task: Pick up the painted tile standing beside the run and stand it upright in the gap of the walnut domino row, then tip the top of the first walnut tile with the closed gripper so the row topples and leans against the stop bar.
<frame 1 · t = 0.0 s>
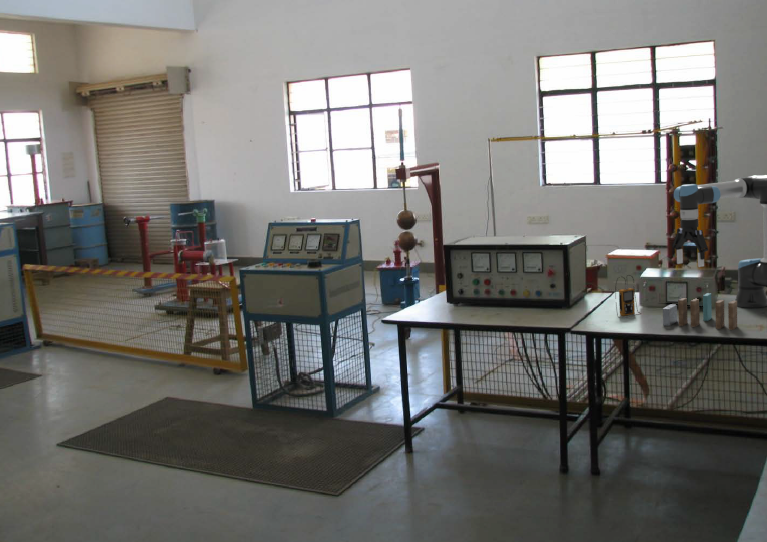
hand: (690, 265, 360), 28 cm above the table, fingers open, 13 cm apart
tile 3: (707, 319, 372), on the table
stop bar: (670, 323, 370), on the table
tile 4: (695, 325, 363), on the table
tile 5: (683, 324, 366), on the table
multimeter: (632, 316, 391), on the table
tile 1: (733, 328, 352), on the table
tile 2: (720, 327, 356), on the table
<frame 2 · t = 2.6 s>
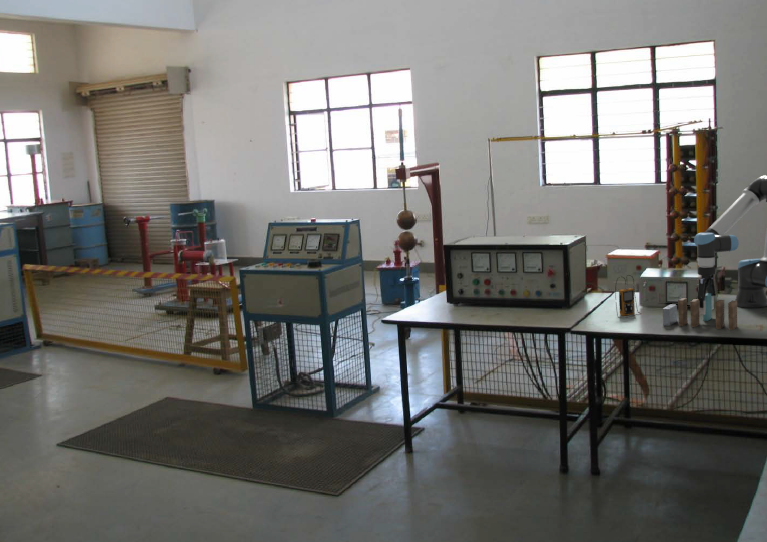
hand: (706, 311, 371), 4 cm above the table, fingers open, 11 cm apart
nothing on the table moved.
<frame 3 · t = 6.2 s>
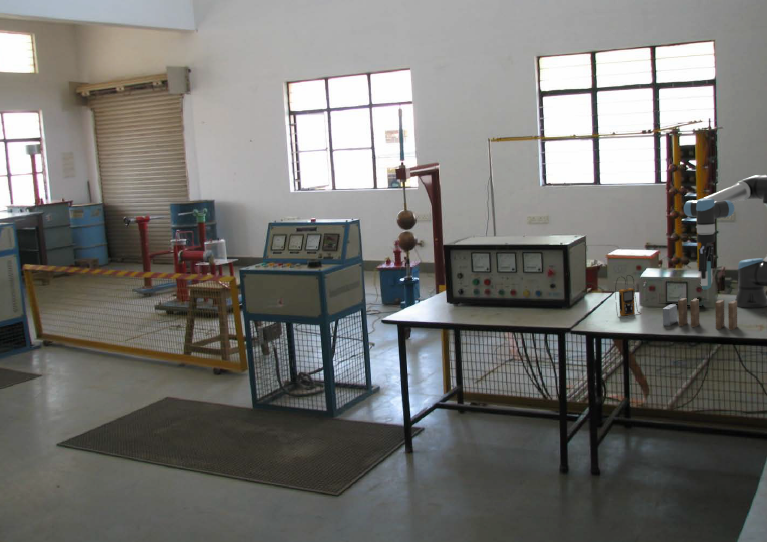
hand: (706, 284, 356), 20 cm above the table, fingers closed on tile 3, 6 cm apart
tile 3: (706, 288, 357), point 18 cm above the table, touching gripper
everything else where it was.
when the fingers open (3 cm above the table, at t = 9.5 s): tile 3 stays where it is, on the table.
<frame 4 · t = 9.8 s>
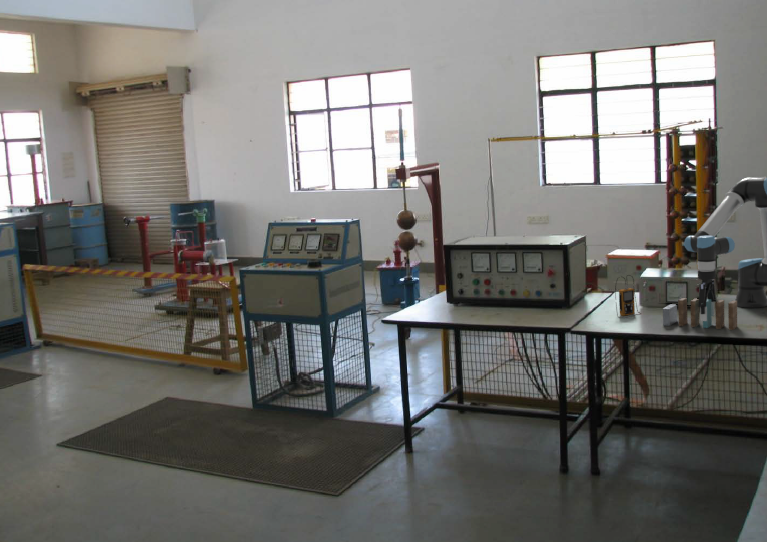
hand: (707, 318, 359), 4 cm above the table, fingers open, 10 cm apart
tile 3: (707, 326, 359), on the table
everything else where it was.
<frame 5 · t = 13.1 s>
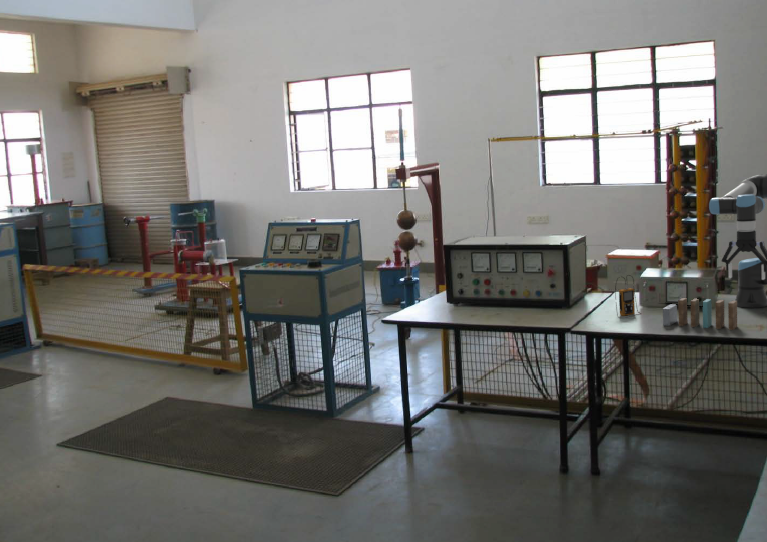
hand: (746, 278, 345), 23 cm above the table, fingers open, 13 cm apart
nothing on the table moved.
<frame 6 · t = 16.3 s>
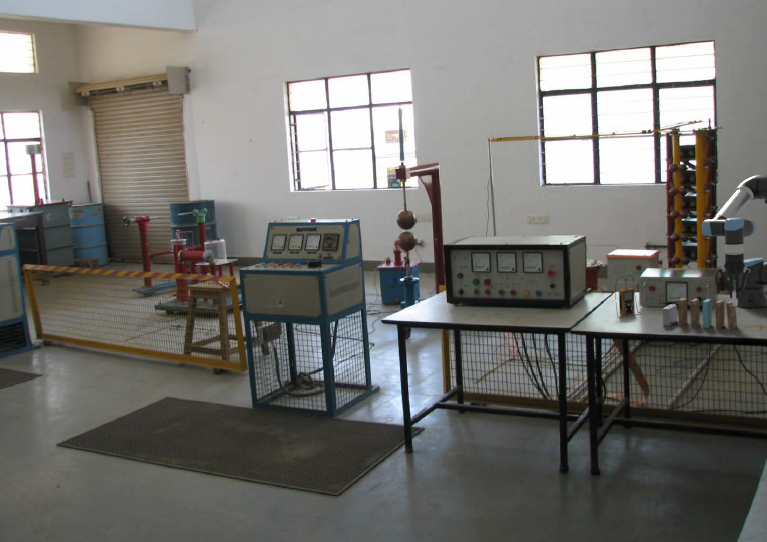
hand: (735, 305, 350), 10 cm above the table, fingers closed
nothing on the table moved.
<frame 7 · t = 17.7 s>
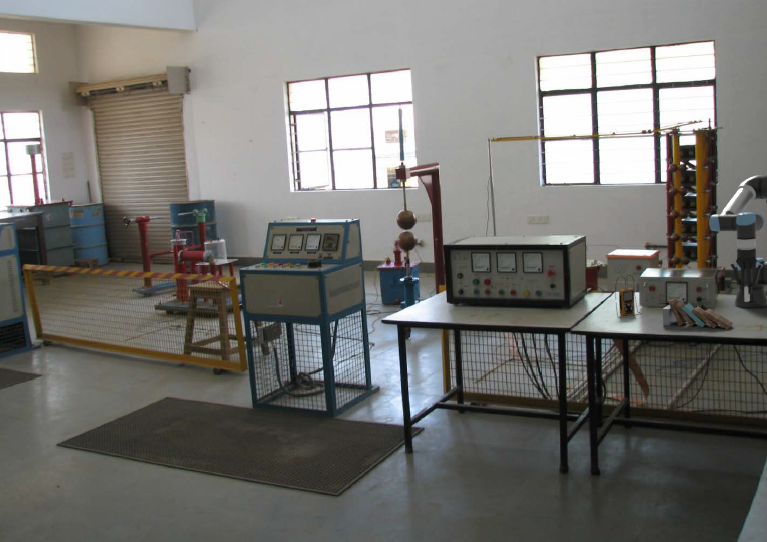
hand: (747, 301, 347), 13 cm above the table, fingers closed
tile 3: (705, 324, 360), point 1 cm above the table, tilted 47°, touching tile 2, tile 4
tile 4: (694, 323, 363), point 1 cm above the table, tilted 38°, touching tile 3, tile 5
tile 5: (683, 323, 366), on the table, tilted 24°, touching stop bar, tile 4
tile 1: (730, 326, 353), point 1 cm above the table, tilted 61°, touching tile 2
tile 2: (717, 325, 357), point 1 cm above the table, tilted 55°, touching tile 1, tile 3
everything else where it was.
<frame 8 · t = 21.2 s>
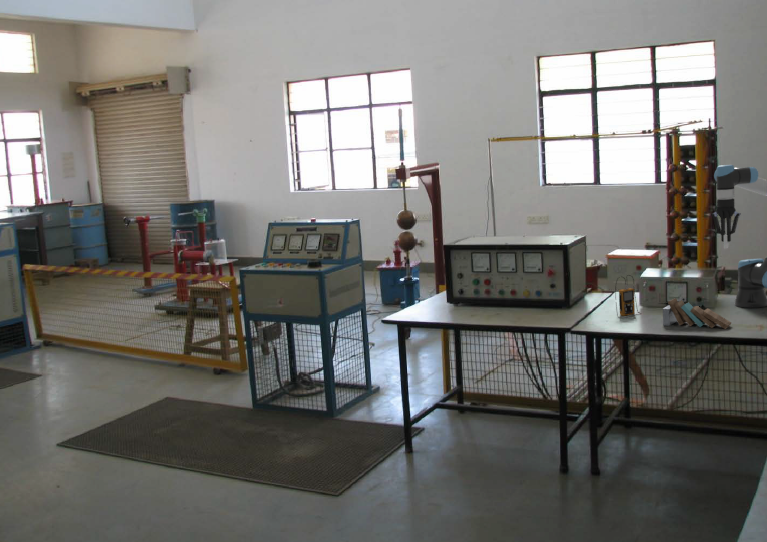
hand: (726, 248, 371), 32 cm above the table, fingers closed
tile 5: (683, 323, 366), point 1 cm above the table, tilted 26°, touching stop bar, tile 4
at the end: tile 5 tilted 26°; tile 3 tilted 44°; tile 3 inside the target area (3.3 cm from its centre), point 0.7 cm above the table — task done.
